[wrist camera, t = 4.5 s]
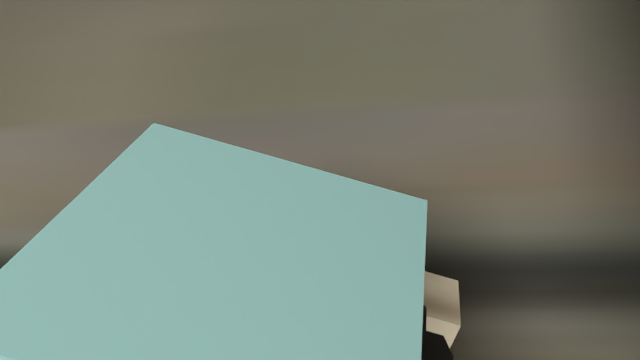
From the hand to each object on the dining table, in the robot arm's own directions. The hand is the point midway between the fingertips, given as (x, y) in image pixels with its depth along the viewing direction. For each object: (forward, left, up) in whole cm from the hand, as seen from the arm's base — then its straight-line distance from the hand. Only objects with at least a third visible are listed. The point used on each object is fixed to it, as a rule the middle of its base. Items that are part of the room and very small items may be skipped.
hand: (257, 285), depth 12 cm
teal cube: (0, 0, -1) cm, 1 cm away
